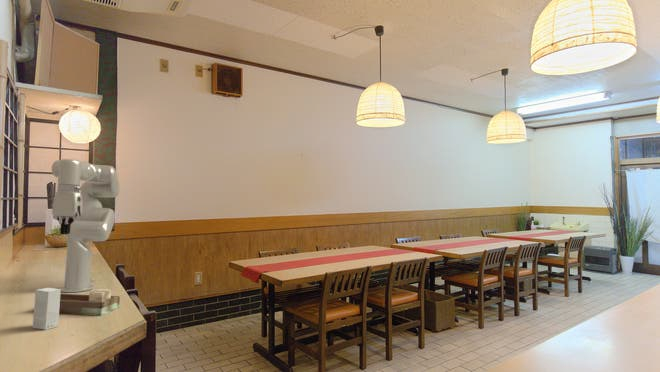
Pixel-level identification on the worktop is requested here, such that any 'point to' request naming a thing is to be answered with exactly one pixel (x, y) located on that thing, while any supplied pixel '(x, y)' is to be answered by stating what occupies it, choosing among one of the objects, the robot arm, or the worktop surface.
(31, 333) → the worktop surface
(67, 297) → the channel
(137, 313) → the worktop surface
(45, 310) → the skincare box
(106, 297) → the birch block
